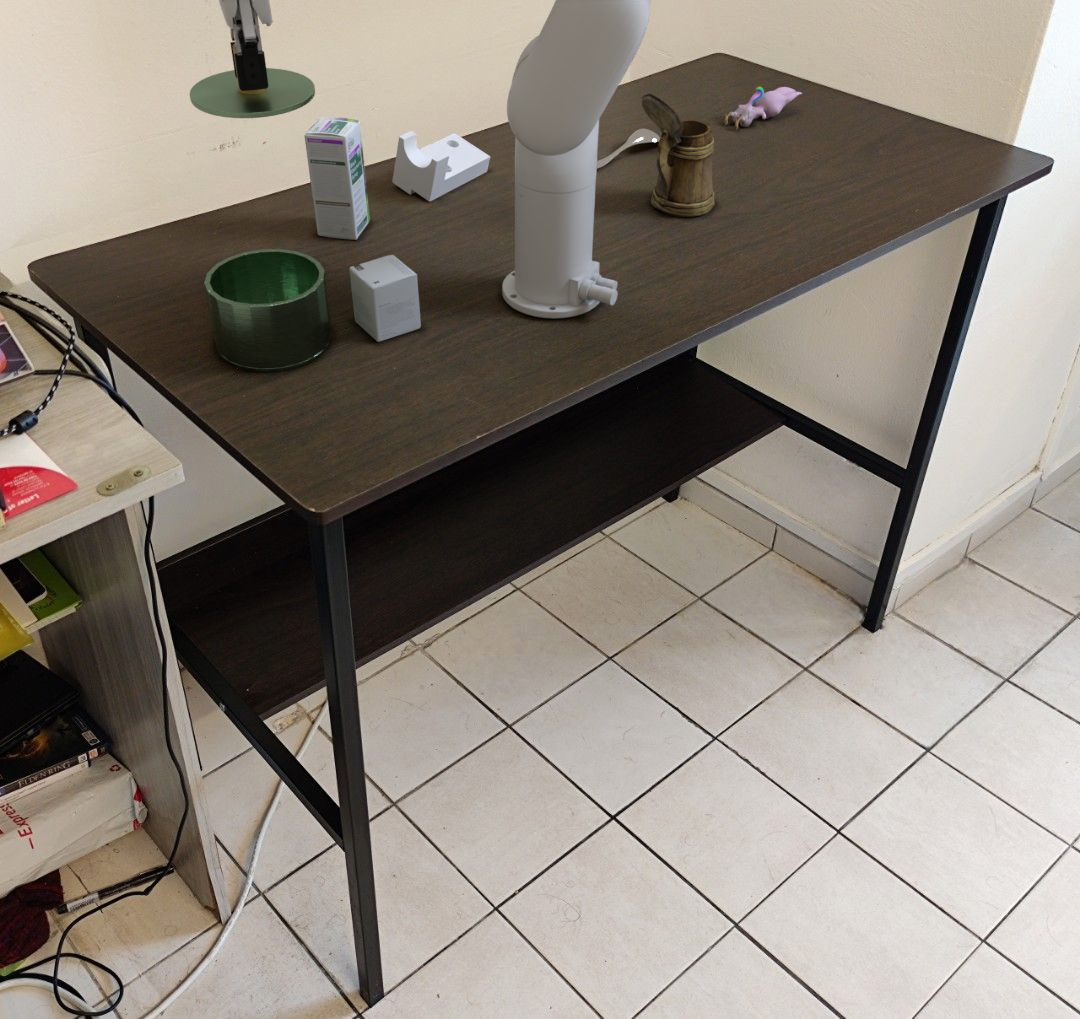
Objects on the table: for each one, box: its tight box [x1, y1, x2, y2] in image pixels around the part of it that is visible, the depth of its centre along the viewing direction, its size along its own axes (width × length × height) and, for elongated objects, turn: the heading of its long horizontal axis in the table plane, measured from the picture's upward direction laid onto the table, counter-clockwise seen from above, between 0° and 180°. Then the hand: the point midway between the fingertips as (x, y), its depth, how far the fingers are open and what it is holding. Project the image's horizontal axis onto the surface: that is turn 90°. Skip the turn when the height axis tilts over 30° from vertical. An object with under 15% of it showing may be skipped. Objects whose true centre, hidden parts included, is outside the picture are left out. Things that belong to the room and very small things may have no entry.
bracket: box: [391, 130, 491, 203], centre depth 171 cm, size 13×7×8 cm, turn 143°
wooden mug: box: [641, 93, 716, 218], centre depth 162 cm, size 9×14×18 cm, turn 134°
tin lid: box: [189, 44, 316, 119], centre depth 134 cm, size 14×14×6 cm
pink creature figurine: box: [723, 86, 803, 131], centre depth 192 cm, size 6×6×15 cm
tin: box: [203, 248, 332, 373], centre depth 137 cm, size 13×13×8 cm
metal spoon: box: [597, 128, 661, 170], centre depth 179 cm, size 20×4×5 cm
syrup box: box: [304, 116, 371, 241], centre depth 157 cm, size 6×6×14 cm
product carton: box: [348, 254, 422, 343], centre depth 140 cm, size 6×6×7 cm
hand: (251, 81), depth 135 cm, fingers closed on tin lid, 3 cm apart
